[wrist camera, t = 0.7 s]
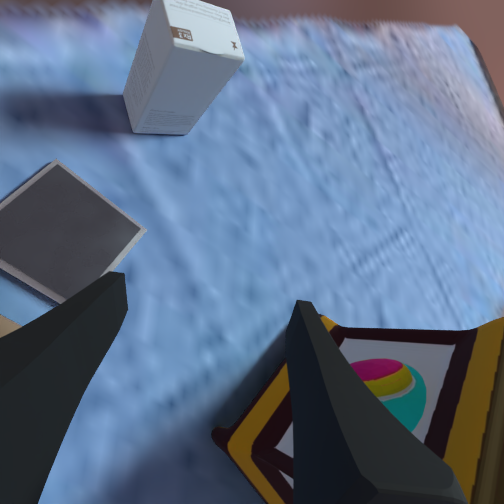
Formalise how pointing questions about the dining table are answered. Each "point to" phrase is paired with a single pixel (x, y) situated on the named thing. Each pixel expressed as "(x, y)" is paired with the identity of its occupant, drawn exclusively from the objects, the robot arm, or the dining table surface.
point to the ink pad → (62, 233)
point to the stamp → (7, 326)
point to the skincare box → (180, 65)
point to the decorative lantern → (395, 405)
